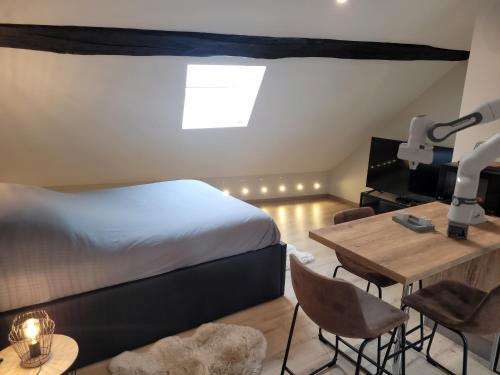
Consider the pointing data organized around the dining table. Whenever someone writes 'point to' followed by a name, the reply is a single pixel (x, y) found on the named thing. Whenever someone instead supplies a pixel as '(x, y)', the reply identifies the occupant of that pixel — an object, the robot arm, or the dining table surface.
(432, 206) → the dining table surface
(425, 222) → the white cube-shaped block
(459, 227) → the electrical switch
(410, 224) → the switch board
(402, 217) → the white sliding block
